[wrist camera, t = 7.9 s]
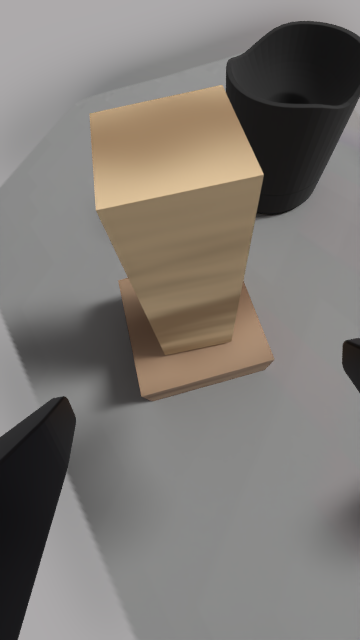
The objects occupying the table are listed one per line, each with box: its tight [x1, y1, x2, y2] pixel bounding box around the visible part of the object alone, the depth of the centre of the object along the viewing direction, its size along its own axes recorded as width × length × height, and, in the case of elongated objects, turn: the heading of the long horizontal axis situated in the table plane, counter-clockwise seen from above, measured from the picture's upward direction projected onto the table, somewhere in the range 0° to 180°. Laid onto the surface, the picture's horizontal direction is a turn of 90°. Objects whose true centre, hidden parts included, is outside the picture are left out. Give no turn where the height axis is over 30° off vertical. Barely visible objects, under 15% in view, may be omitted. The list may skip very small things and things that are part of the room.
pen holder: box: [226, 21, 360, 214], centre depth 23 cm, size 9×9×10 cm
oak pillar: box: [90, 85, 264, 355], centre depth 14 cm, size 4×4×12 cm
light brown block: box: [118, 278, 274, 401], centre depth 22 cm, size 9×9×4 cm
